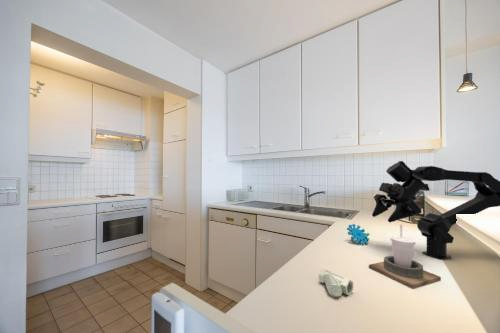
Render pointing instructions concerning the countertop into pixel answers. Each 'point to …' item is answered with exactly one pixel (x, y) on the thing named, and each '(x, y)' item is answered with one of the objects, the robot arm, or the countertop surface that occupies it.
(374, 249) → the countertop surface
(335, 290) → the pipe fitting
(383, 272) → the collar stand
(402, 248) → the smoothie
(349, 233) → the gear
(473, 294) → the countertop surface
